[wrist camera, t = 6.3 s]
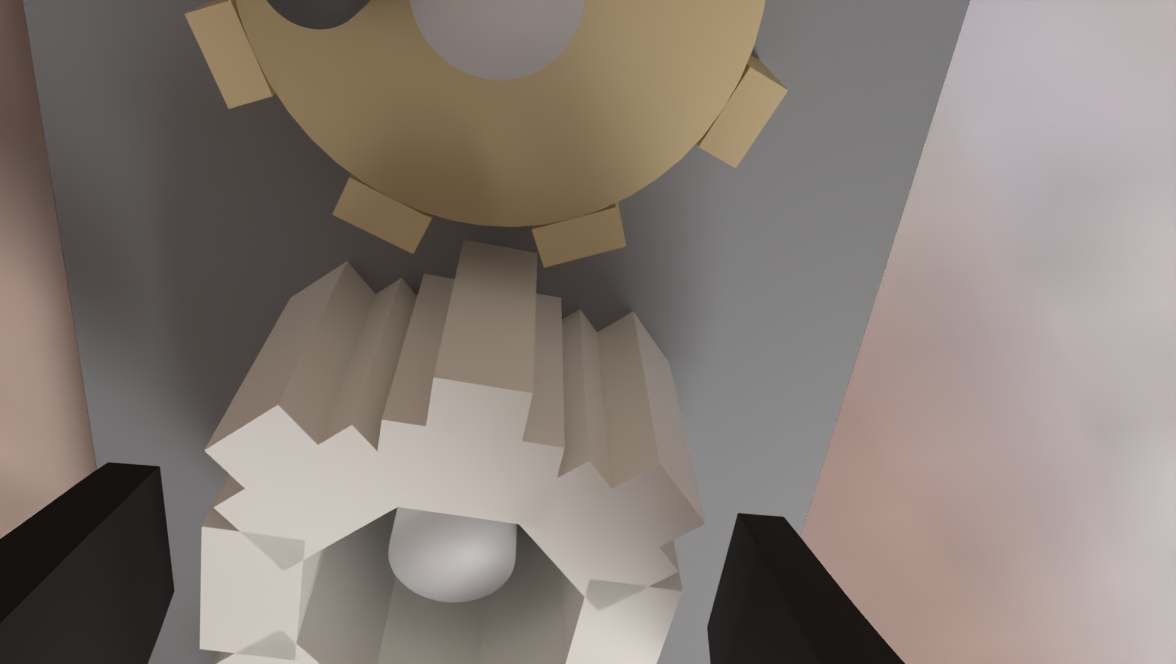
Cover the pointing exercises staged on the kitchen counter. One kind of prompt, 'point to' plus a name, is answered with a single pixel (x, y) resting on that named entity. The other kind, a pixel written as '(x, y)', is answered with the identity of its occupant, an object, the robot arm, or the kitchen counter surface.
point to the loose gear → (447, 476)
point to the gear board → (683, 271)
